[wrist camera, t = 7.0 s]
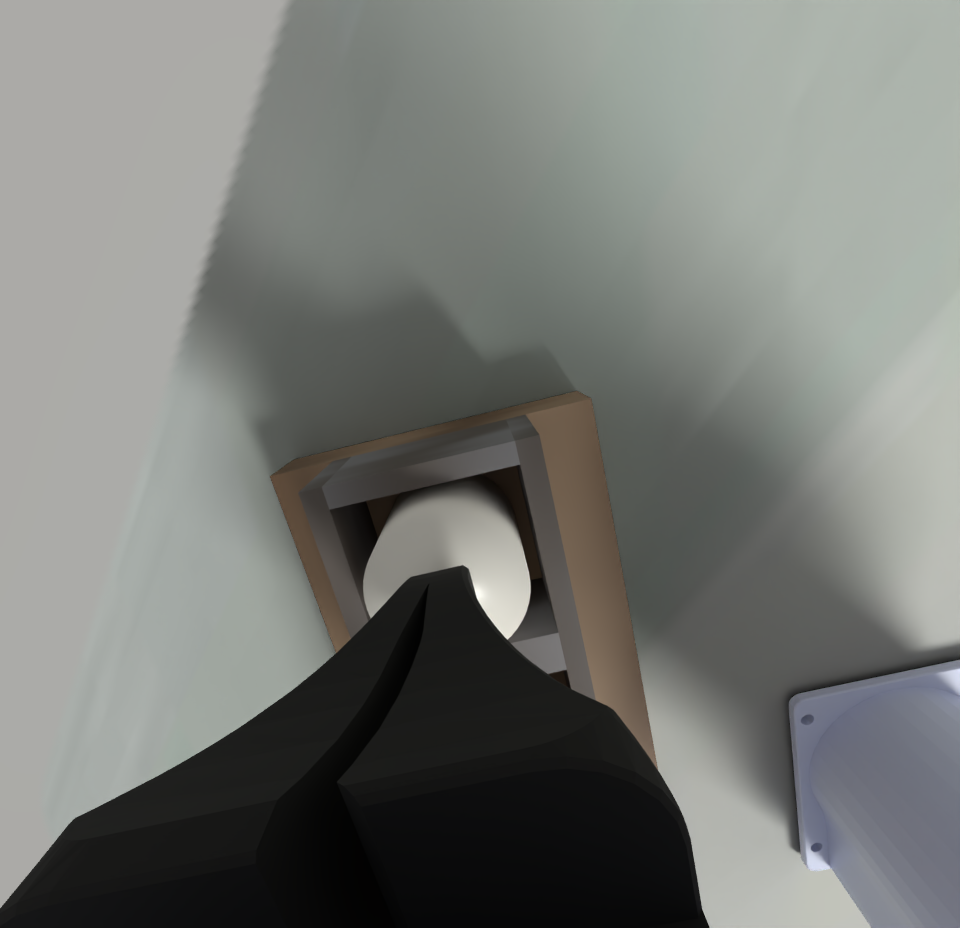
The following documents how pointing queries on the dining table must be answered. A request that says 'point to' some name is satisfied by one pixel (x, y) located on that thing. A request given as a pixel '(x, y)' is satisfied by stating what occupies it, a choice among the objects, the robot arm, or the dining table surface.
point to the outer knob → (454, 547)
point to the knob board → (540, 519)
